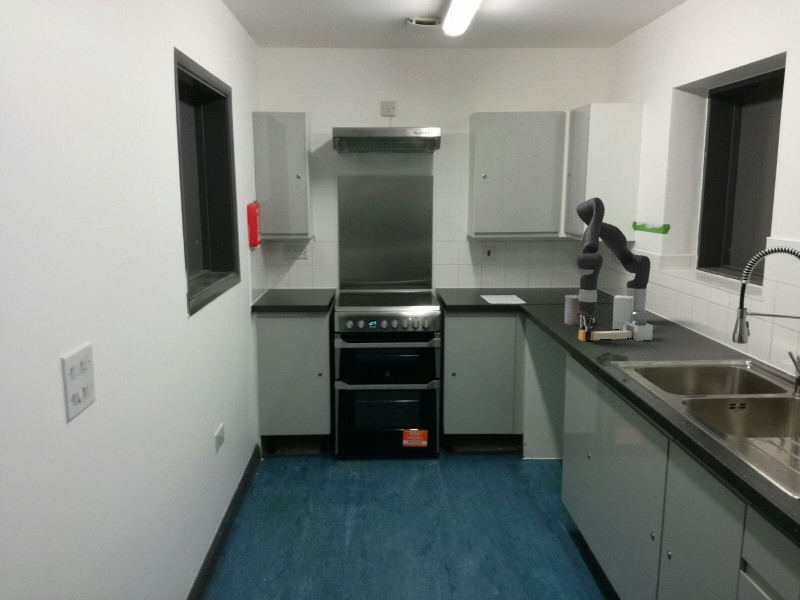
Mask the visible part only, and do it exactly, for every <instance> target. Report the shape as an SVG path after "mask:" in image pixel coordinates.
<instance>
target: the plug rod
mask: <svg viewBox="0 0 800 600" xmlns="http://www.w3.org/2000/svg"><path fill="white" fill-rule="evenodd" d="M585 333H586V330H581V329H578V337H577V339H578V340H579V341H582V342H587V341H586V339H585ZM632 337H633V336H632V332H631V331H628V330H627V331H623V330H611V331H610V330H609V331H608V330H607V331H595V330H594V331H591V339H590V340H593V341H601V340H600V339H612V340H628V339H627V338H631V339H632Z"/></svg>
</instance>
